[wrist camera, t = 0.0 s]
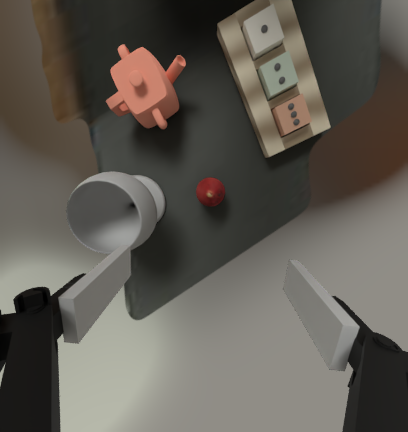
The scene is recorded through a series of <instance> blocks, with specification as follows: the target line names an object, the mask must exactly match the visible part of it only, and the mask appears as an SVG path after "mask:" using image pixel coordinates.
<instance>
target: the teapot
mask: <svg viewBox="0 0 408 432" xmlns="http://www.w3.org/2000/svg"><path fill="white" fill-rule="evenodd" d="M118 52H119V54H120V56H121V58H122V60H121V61H119V62H118V63H117V64H115V65H114V66H113V67H112V68H111V75H112V78H113V80H114V82H115V85H116V87H117V89H118V92H117V93H116V94H114V95H113V96H112V97H110V98H109V99H108V100H106V102H107V104H108V106H109V107H110V109H111V110H112V111H113V112H114V113H115V114H117V115H118V116H122V115H125V114H127V113H130V112H131V113H132V114H133V116H134V117H135V118H136V119H137V120H138V122H139V123H140V124H141V125H143V126H144V127H145V128H152V127H154V126H156V125H158V126H159V127H160V128H161V129H165V128H166V127H167V121H166V119H168V118H169V117H171V116H172V115H173V114H175V113H176V112H177V111H178V109H179V102H178V98H177V95H176V92H175V89H174V87H173V85H172V84H173V83H174V81H175V80H176V78H177V77H178V76H179V74H180V73H181V71H182V70H183V68H184V67H185V66H186V61H185V59H184V58H183V57H182V56H180V55H177V57H176V58H175V59H174V61H173V62H172V64H171V65H170V67H169V68H168V70H167V71H166V72H165V70H164V69H163V68H162V66H161V65H160V63H159V62H158V61H157V59H156V58H155V57H154V56H153V55H152V54H151V53H150V52H149V51H148V50H146V49H145V48H143V47H141V48H138V49H137V50H135V51H133V52H132V53H130V52H129V50H128V48H127V47H126V46H125V45H121V46H119V48H118Z"/></svg>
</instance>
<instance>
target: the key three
mask: <svg viewBox="0 0 408 432" xmlns="http://www.w3.org/2000/svg"><path fill="white" fill-rule="evenodd" d="M271 113H272V115H273V118H274V121H275V124H276V126H277V129H278V132H279V134H280V137H281V136H284V135H286V134H288V133H290V132H292V131H294V130H296V129H298V128H300V127H302V126H304V125H306V124H308V123H310V122H312V120H311V117H310V114H309V111H308V108H307V105H306V102H305V99H304V96H303V93H302V94H300V95H298V96H296V97H294V98H292V99H291V100H289V101H287V102H285V103H283V104H281V105H279V106H277V107H275V108H274V109H273V110H272V111H271Z"/></svg>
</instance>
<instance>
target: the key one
mask: <svg viewBox="0 0 408 432" xmlns="http://www.w3.org/2000/svg"><path fill="white" fill-rule="evenodd" d="M242 34H243V36H244V39H245V42H246V45H247V47H248V50H249V53H250V56H251V58H252V61H255V60H257V59H258V58H260V57H262V56H264V55H265V54H267V53H269V52H271V51H272V50H274V49H276V48H278V47H279V46H280V45H281V43H282V41H283V39H284V35H283V31H282V28H281V25H280V22H279V19H278V16H277V13H276V10H275V7H274V4H272V5H270V6H268V7H267V8H265V9H264V10H262V11H260V12H259V13H257V14H255V15H254V16H252V17H250V18H249V19H247V20H245V21H244V23H243V28H242Z"/></svg>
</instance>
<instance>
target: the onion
mask: <svg viewBox="0 0 408 432" xmlns="http://www.w3.org/2000/svg"><path fill="white" fill-rule="evenodd" d="M196 194H197V198H198V200H199V201H200V202H201V203H202V204H203V205H206V206H216V205H218V204H220V202H221V201H222V200H223V199H224V195H225V188H224V186H223V184H222V183H221V181H219V180H218V179H216V178H211V177H210V178H205V179H203V180H202V181H200V183H199V184H198V186H197V190H196Z"/></svg>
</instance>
